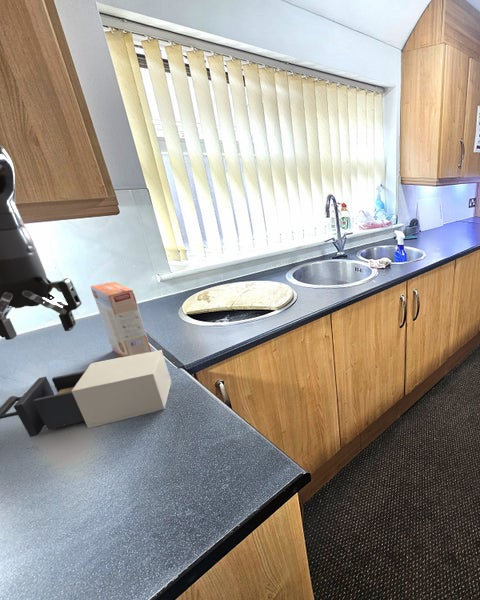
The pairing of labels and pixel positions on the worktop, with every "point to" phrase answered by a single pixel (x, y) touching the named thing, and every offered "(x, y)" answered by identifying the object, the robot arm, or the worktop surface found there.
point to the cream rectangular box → (123, 388)
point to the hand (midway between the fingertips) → (41, 333)
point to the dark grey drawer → (46, 405)
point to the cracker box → (121, 319)
